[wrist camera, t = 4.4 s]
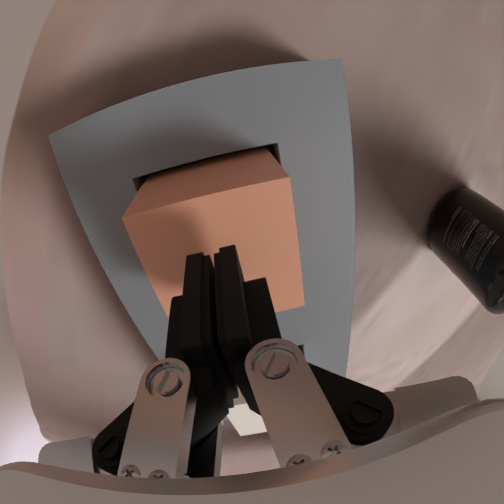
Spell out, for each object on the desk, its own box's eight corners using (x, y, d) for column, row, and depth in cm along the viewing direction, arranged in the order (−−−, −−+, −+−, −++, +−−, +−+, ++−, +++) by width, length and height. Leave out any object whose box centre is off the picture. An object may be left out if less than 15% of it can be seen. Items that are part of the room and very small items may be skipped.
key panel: (313, 63, 14) (342, 58, 10) (331, 364, 29) (342, 394, 26) (80, 122, 14) (47, 135, 10) (205, 391, 29) (207, 422, 26)
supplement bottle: (433, 266, 23) (507, 359, 13) (416, 213, 20) (519, 316, 10) (480, 225, 22) (560, 302, 12) (470, 169, 18) (577, 244, 8)
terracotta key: (265, 146, 14) (289, 176, 10) (282, 247, 17) (304, 305, 13) (148, 175, 14) (121, 218, 10) (182, 269, 17) (176, 332, 13)
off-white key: (294, 334, 21) (310, 389, 17) (299, 374, 25) (312, 421, 21) (217, 351, 21) (221, 407, 17) (235, 388, 25) (240, 436, 20)
